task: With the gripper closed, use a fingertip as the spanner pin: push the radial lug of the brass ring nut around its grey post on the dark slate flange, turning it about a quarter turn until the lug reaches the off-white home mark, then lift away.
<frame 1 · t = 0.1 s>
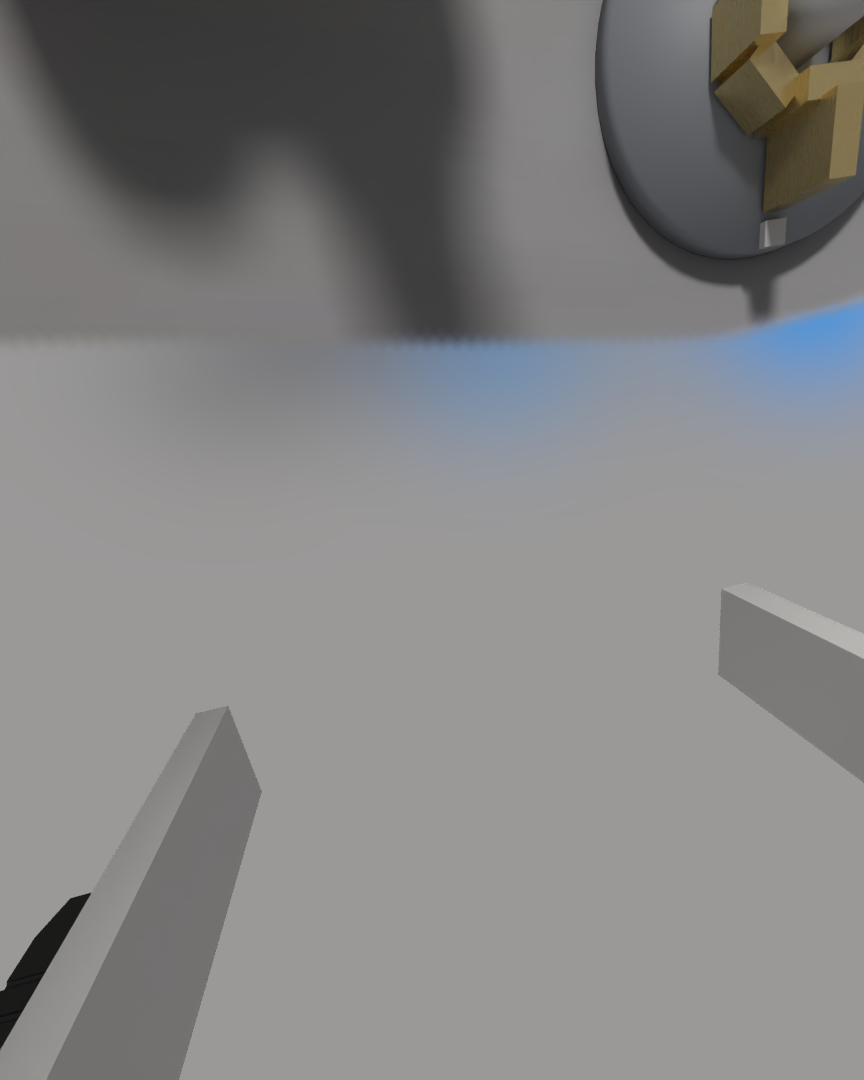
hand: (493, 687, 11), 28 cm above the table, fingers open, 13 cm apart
ring nut: (817, 52, 28), point 5 cm above the table, hinge at 0.0°
flange: (756, 63, 32), on the table
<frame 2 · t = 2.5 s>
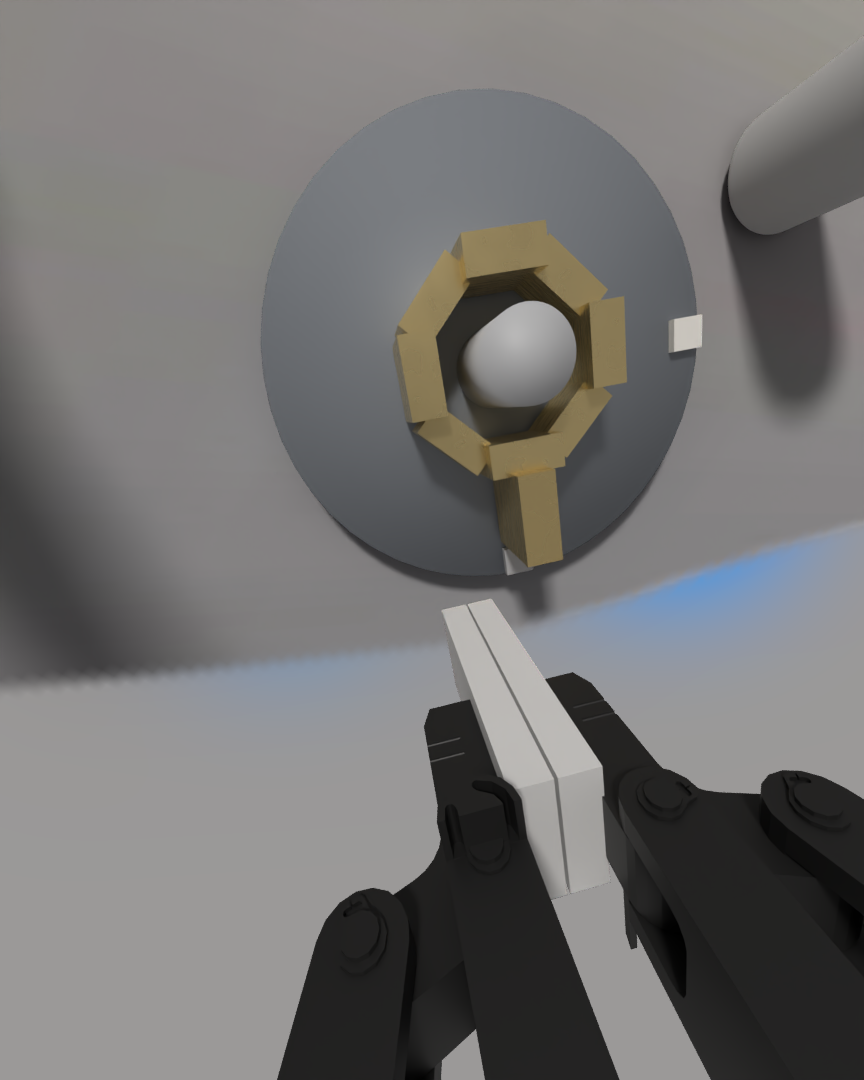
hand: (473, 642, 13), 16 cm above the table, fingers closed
ring nut: (513, 411, 23), point 5 cm above the table, hinge at 0.0°
flange: (484, 372, 27), on the table
beverage can: (762, 181, 26), on the table
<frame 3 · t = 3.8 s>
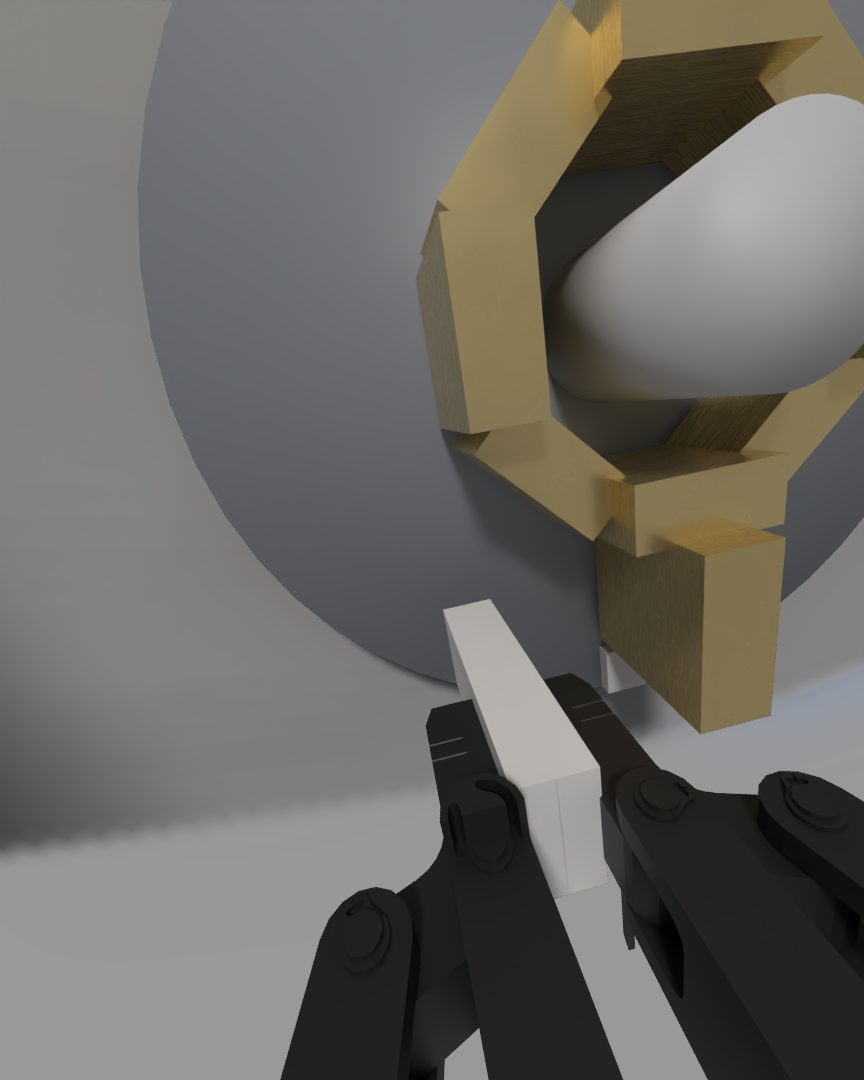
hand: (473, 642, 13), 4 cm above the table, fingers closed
ring nut: (670, 407, 11), point 5 cm above the table, hinge at 0.0°
flange: (577, 338, 15), on the table
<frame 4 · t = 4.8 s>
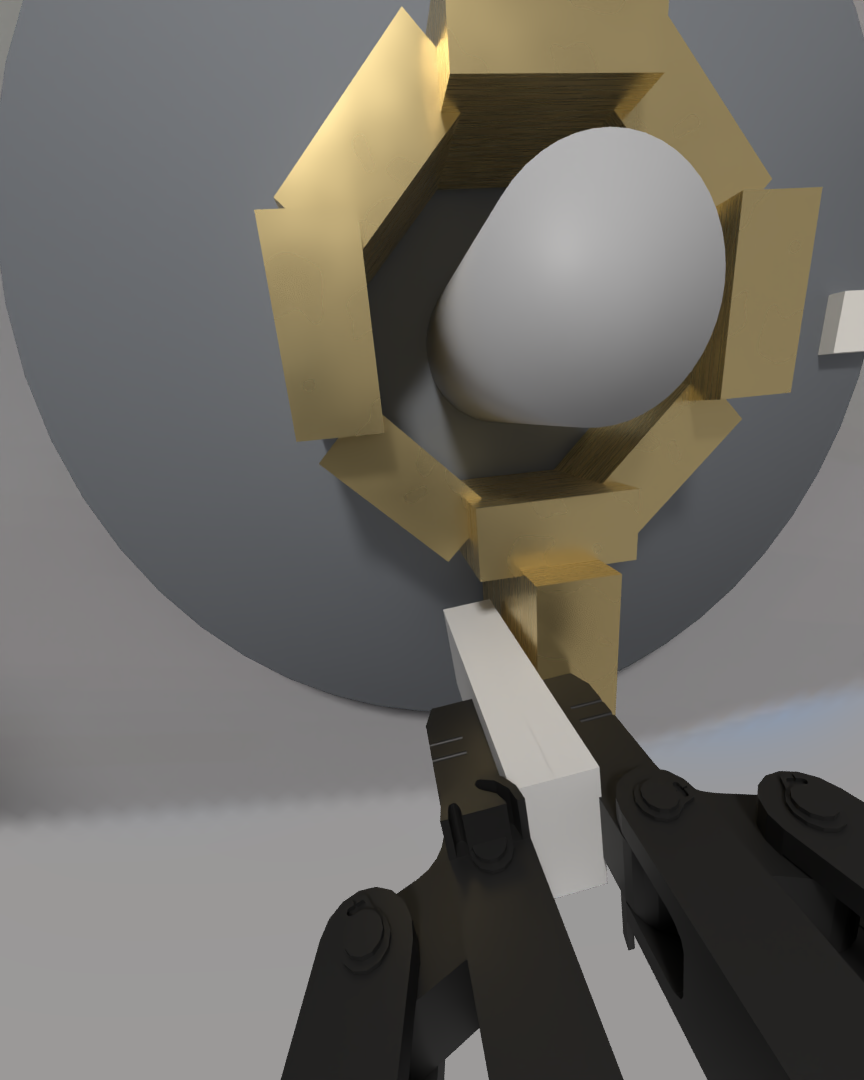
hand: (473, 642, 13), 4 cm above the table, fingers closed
ring nut: (534, 432, 11), point 5 cm above the table, hinge at 0.8°, touching gripper
flange: (481, 354, 15), on the table
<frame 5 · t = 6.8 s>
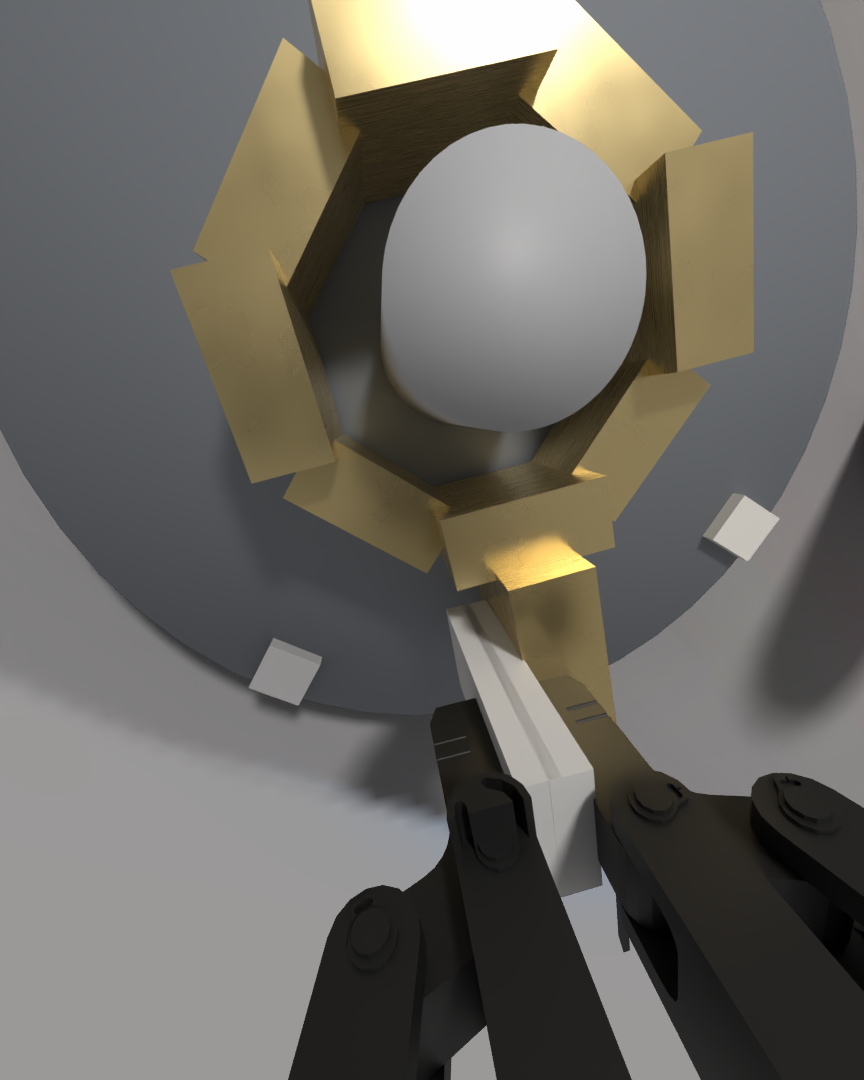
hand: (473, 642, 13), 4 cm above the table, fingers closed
ring nut: (495, 432, 11), point 5 cm above the table, hinge at 42.9°, touching gripper
flange: (444, 356, 14), on the table
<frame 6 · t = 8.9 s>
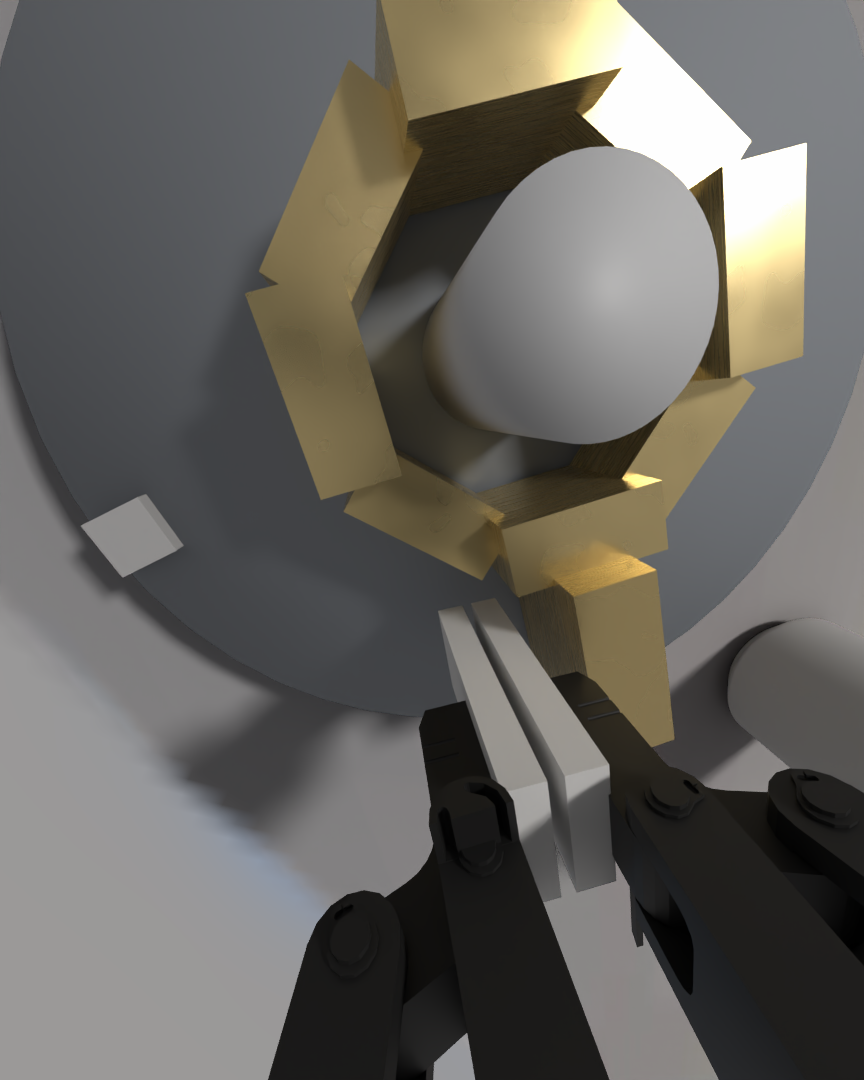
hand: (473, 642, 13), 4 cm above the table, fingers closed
ring nut: (546, 440, 11), point 5 cm above the table, hinge at 80.0°
flange: (478, 362, 15), on the table
beverage can: (770, 666, 21), on the table
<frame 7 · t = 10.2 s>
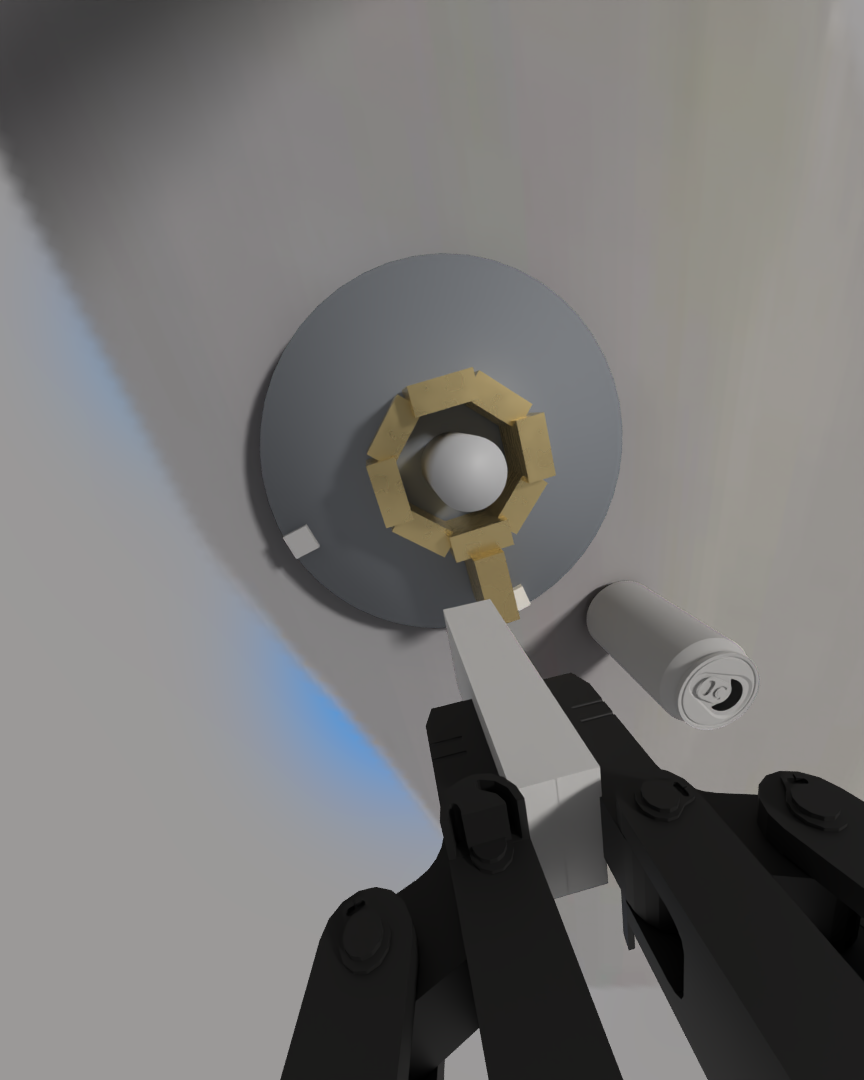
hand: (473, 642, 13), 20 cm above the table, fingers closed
ring nut: (468, 503, 28), point 5 cm above the table, hinge at 79.7°
flange: (446, 460, 32), on the table
beverage can: (614, 609, 38), on the table
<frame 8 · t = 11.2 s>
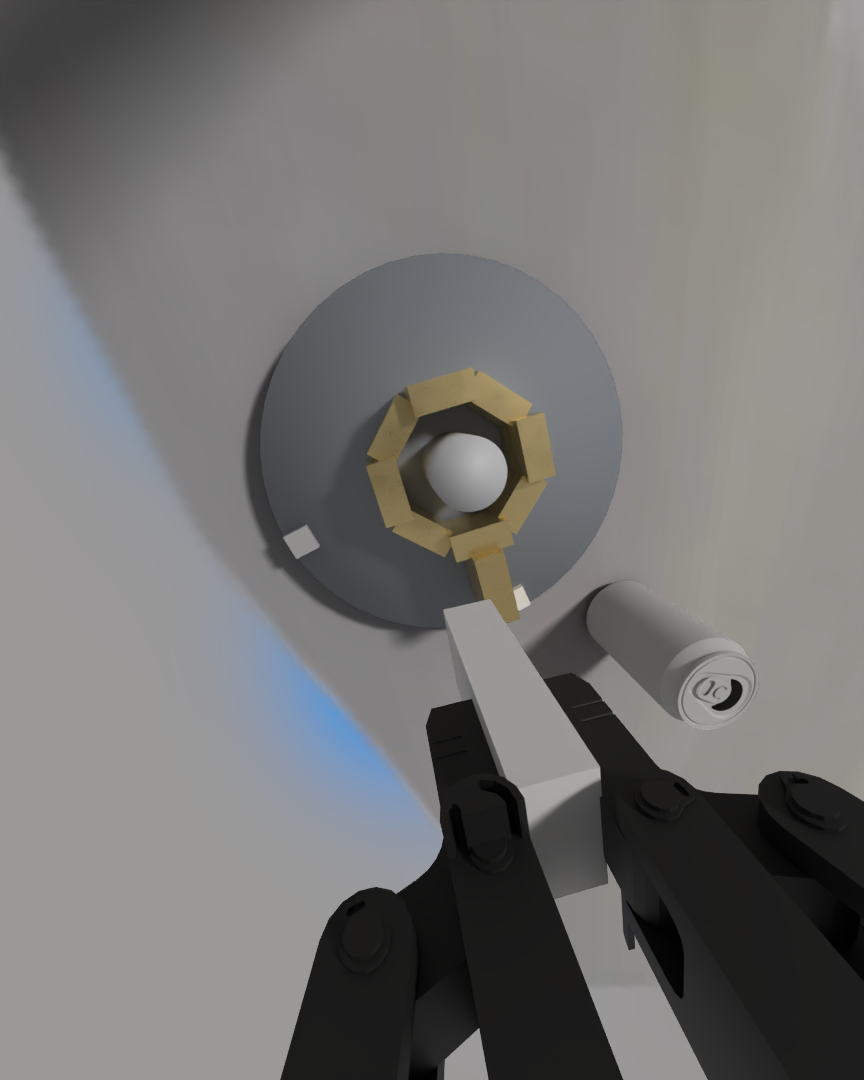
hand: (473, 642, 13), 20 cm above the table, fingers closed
ring nut: (468, 503, 28), point 5 cm above the table, hinge at 79.7°
flange: (446, 460, 32), on the table
beverage can: (614, 609, 38), on the table
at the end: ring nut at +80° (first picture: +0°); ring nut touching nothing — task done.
